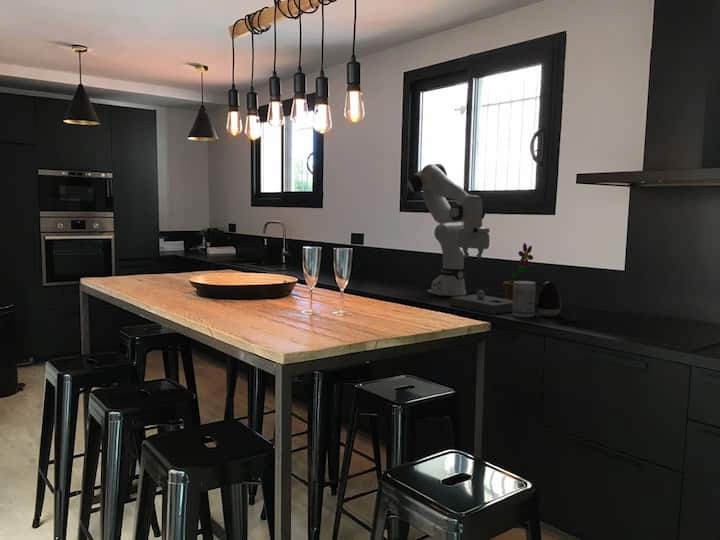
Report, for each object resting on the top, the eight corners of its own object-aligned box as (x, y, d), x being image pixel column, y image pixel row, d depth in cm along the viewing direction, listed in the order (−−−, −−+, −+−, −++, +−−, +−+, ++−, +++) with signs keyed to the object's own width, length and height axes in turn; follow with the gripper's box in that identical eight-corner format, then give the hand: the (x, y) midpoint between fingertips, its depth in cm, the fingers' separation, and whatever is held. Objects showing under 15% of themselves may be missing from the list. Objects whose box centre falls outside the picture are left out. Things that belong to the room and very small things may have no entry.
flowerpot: (521, 306, 278) (523, 243, 275) (496, 303, 289) (498, 242, 286) (538, 303, 288) (540, 242, 284) (513, 300, 298) (515, 241, 295)
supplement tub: (515, 312, 262) (516, 280, 261) (537, 314, 258) (538, 281, 256) (509, 316, 254) (510, 282, 252) (531, 318, 249) (532, 284, 248)
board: (450, 305, 282) (450, 297, 281) (477, 302, 292) (477, 294, 291) (493, 314, 258) (493, 305, 258) (521, 310, 268) (521, 301, 268)
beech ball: (474, 298, 278) (474, 290, 277) (480, 297, 280) (480, 289, 279) (480, 299, 274) (480, 291, 274) (486, 298, 276) (487, 290, 276)
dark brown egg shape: (536, 313, 262) (537, 279, 261) (560, 314, 259) (562, 280, 257) (535, 317, 253) (536, 282, 251) (561, 318, 249) (562, 283, 248)
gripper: (454, 228, 289) (454, 256, 290) (481, 229, 271) (480, 259, 272) (464, 228, 292) (464, 256, 293) (491, 229, 274) (491, 258, 275)
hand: (472, 257), depth 282 cm, fingers open, 8 cm apart
